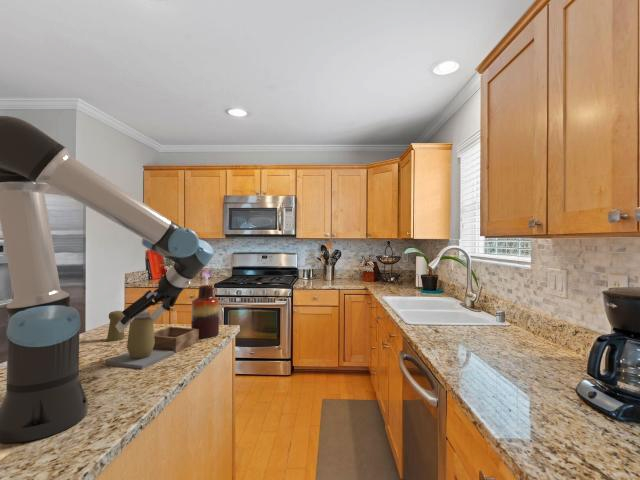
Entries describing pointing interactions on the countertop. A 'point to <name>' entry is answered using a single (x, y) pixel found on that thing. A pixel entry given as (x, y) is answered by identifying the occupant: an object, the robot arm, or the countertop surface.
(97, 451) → the countertop surface
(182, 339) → the bottle holder
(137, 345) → the squeeze bottle
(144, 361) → the slate mat
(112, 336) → the cork
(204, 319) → the vase
